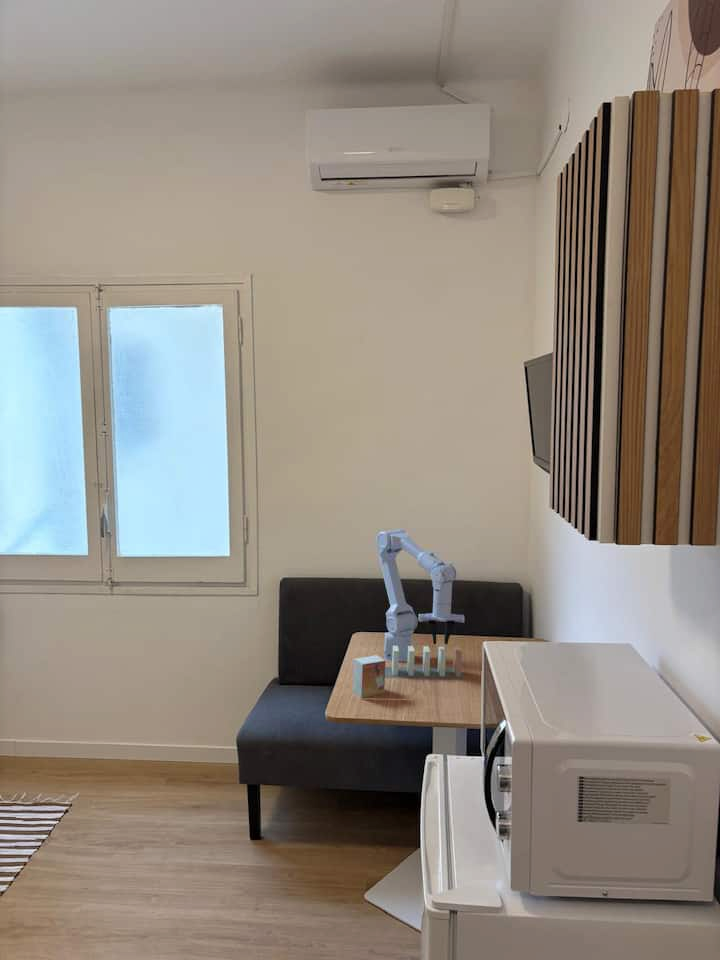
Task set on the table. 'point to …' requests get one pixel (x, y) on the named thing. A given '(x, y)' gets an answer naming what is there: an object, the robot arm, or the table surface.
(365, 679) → the small box
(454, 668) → the terracotta domino
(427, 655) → the domino
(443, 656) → the domino
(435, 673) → the mat
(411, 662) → the domino
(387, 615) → the robot arm
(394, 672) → the domino
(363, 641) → the table surface
